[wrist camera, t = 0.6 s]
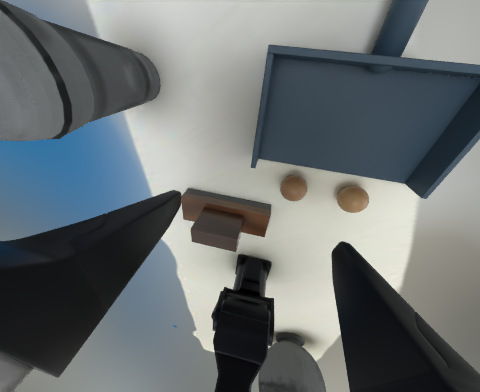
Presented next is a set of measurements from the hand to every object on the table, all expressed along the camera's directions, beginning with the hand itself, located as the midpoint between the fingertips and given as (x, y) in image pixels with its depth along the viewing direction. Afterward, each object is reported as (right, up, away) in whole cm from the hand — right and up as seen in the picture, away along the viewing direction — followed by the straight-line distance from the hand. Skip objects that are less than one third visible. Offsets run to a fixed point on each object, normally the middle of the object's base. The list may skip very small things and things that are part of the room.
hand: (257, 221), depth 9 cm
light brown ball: (+12, +1, +11) cm, 17 cm away
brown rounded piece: (+6, +2, +12) cm, 14 cm away
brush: (-3, 0, +18) cm, 18 cm away
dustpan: (+11, +13, +6) cm, 18 cm away
